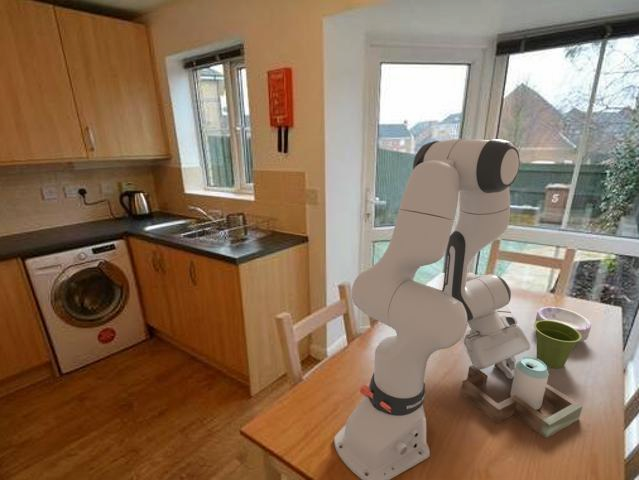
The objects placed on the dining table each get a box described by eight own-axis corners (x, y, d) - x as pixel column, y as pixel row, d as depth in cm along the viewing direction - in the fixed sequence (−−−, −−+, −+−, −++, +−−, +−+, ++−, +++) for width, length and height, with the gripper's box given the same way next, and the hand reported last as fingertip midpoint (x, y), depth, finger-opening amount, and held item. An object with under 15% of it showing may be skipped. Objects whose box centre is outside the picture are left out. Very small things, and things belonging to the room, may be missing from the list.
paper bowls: (580, 355, 105) (585, 334, 102) (527, 335, 116) (531, 316, 113) (590, 337, 114) (596, 317, 112) (541, 320, 125) (545, 302, 123)
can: (543, 415, 82) (552, 375, 79) (511, 406, 85) (519, 367, 81) (538, 396, 88) (547, 358, 85) (508, 388, 91) (516, 352, 88)
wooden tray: (450, 384, 93) (452, 373, 92) (497, 365, 101) (499, 354, 99) (528, 449, 73) (531, 435, 72) (578, 419, 81) (582, 406, 80)
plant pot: (520, 349, 108) (526, 319, 105) (556, 350, 108) (563, 320, 104) (542, 374, 97) (549, 341, 93) (583, 374, 96) (592, 341, 93)
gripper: (469, 333, 87) (496, 387, 82) (519, 316, 96) (546, 363, 90) (454, 339, 93) (479, 390, 87) (502, 322, 101) (527, 367, 95)
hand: (513, 376), depth 89 cm, fingers closed, pressing on can
